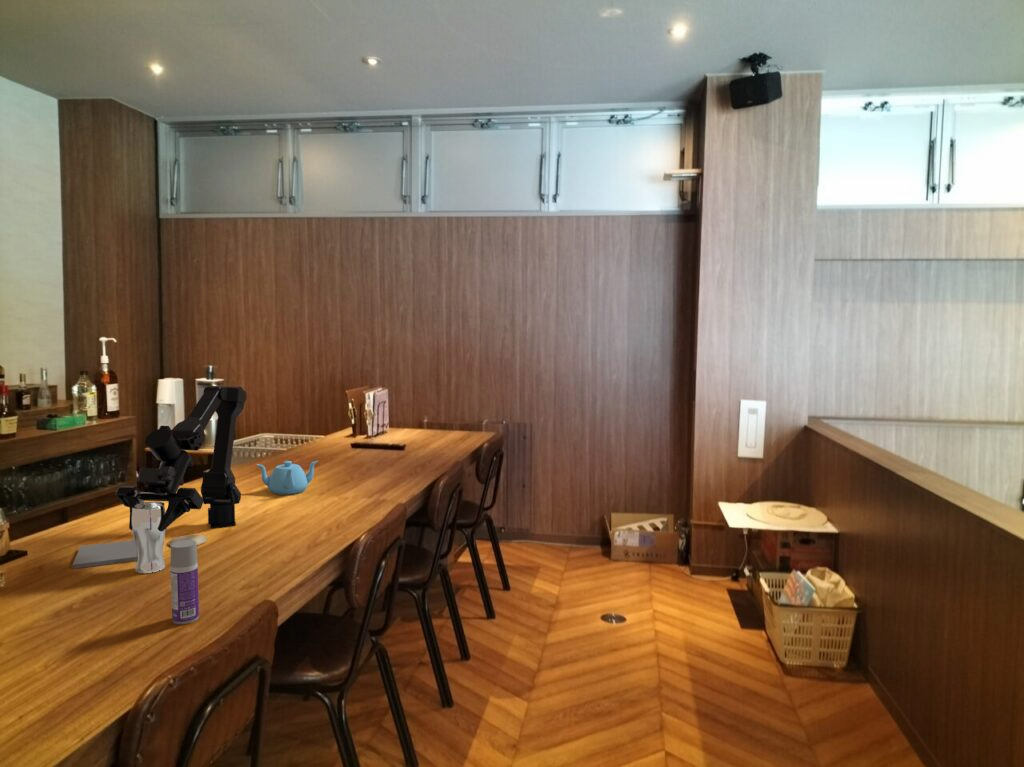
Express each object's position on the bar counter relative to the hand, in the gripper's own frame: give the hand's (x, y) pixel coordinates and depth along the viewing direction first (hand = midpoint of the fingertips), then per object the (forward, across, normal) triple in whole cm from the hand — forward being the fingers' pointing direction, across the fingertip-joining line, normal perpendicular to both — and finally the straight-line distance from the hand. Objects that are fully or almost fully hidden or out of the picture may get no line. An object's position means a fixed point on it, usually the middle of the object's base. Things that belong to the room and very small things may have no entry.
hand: (145, 530), depth 152 cm
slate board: (0, -15, +13) cm, 20 cm away
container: (+23, +22, -9) cm, 33 cm away
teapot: (-44, +4, +58) cm, 74 cm away
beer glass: (+6, 0, +8) cm, 10 cm away
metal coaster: (-8, -1, +21) cm, 22 cm away
